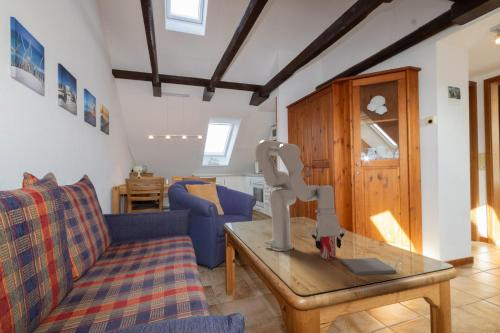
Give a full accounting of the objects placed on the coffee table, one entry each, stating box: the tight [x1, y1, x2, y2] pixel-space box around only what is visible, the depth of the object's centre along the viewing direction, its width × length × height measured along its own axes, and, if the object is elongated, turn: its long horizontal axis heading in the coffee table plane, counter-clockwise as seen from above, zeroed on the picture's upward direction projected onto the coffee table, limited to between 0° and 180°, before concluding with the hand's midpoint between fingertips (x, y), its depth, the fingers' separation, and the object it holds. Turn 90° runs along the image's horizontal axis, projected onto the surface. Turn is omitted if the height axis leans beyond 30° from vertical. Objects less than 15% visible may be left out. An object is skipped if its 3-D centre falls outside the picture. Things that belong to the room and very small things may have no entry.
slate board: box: [341, 257, 397, 276], centre depth 103 cm, size 16×14×1 cm
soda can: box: [319, 236, 336, 261], centre depth 115 cm, size 7×7×12 cm
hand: (328, 248), depth 115 cm, fingers open, 9 cm apart
